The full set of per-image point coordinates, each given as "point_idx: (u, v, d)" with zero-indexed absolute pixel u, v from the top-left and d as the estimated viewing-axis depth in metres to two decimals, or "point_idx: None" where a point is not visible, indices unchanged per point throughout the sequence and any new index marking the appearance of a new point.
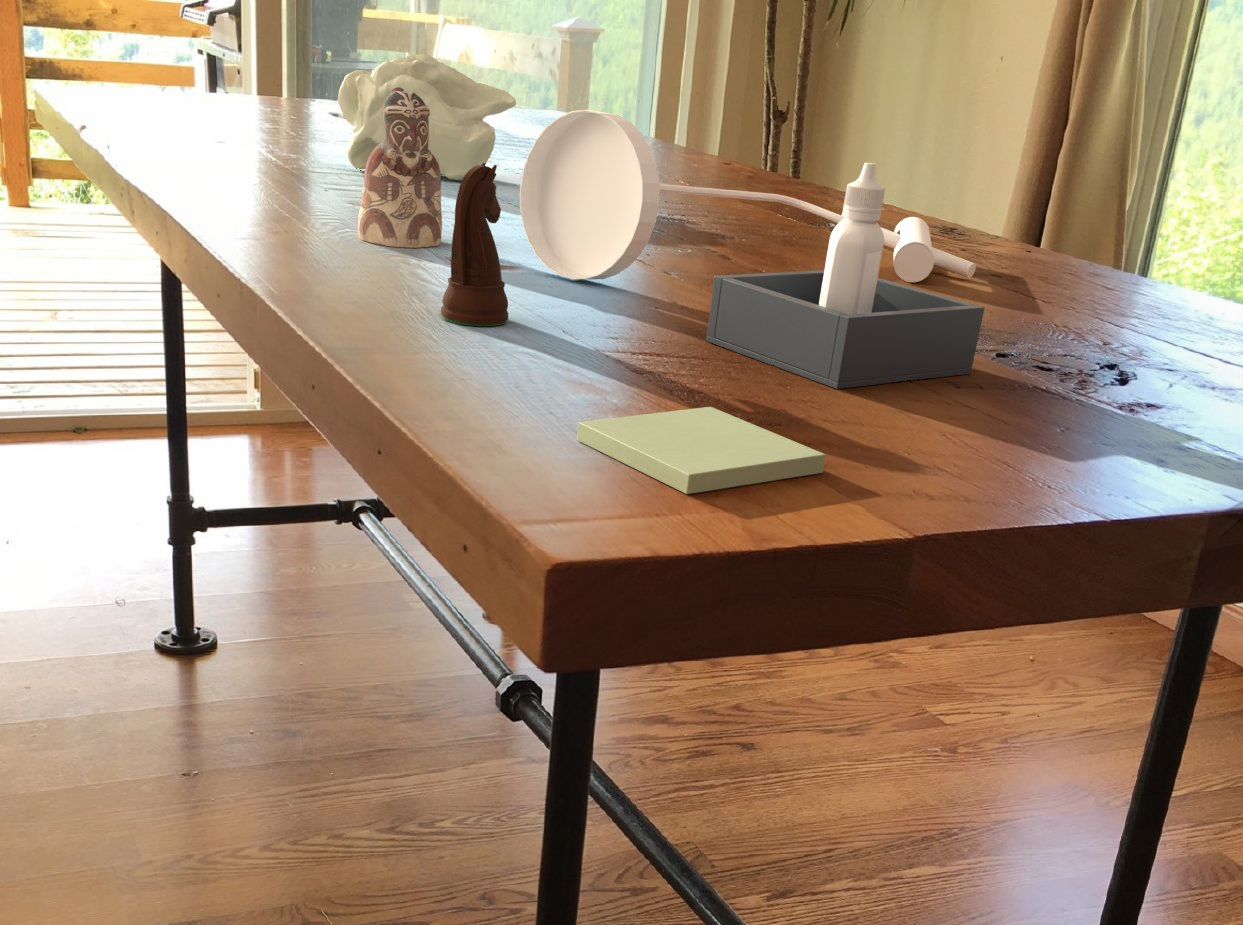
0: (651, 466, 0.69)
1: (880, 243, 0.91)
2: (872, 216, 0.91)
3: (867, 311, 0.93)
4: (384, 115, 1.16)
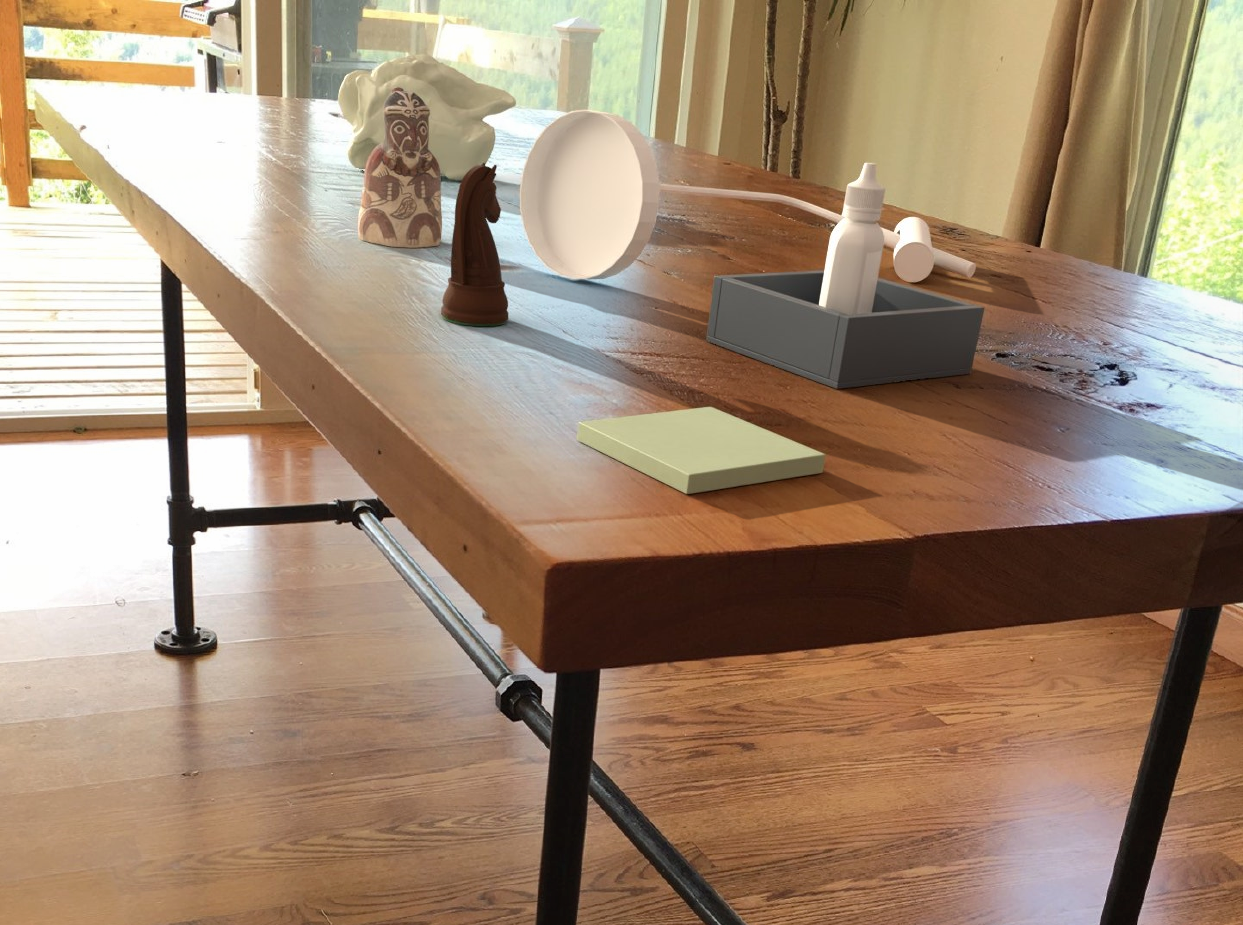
0: (651, 466, 0.69)
1: (880, 243, 0.91)
2: (872, 216, 0.91)
3: (867, 311, 0.93)
4: (384, 115, 1.16)
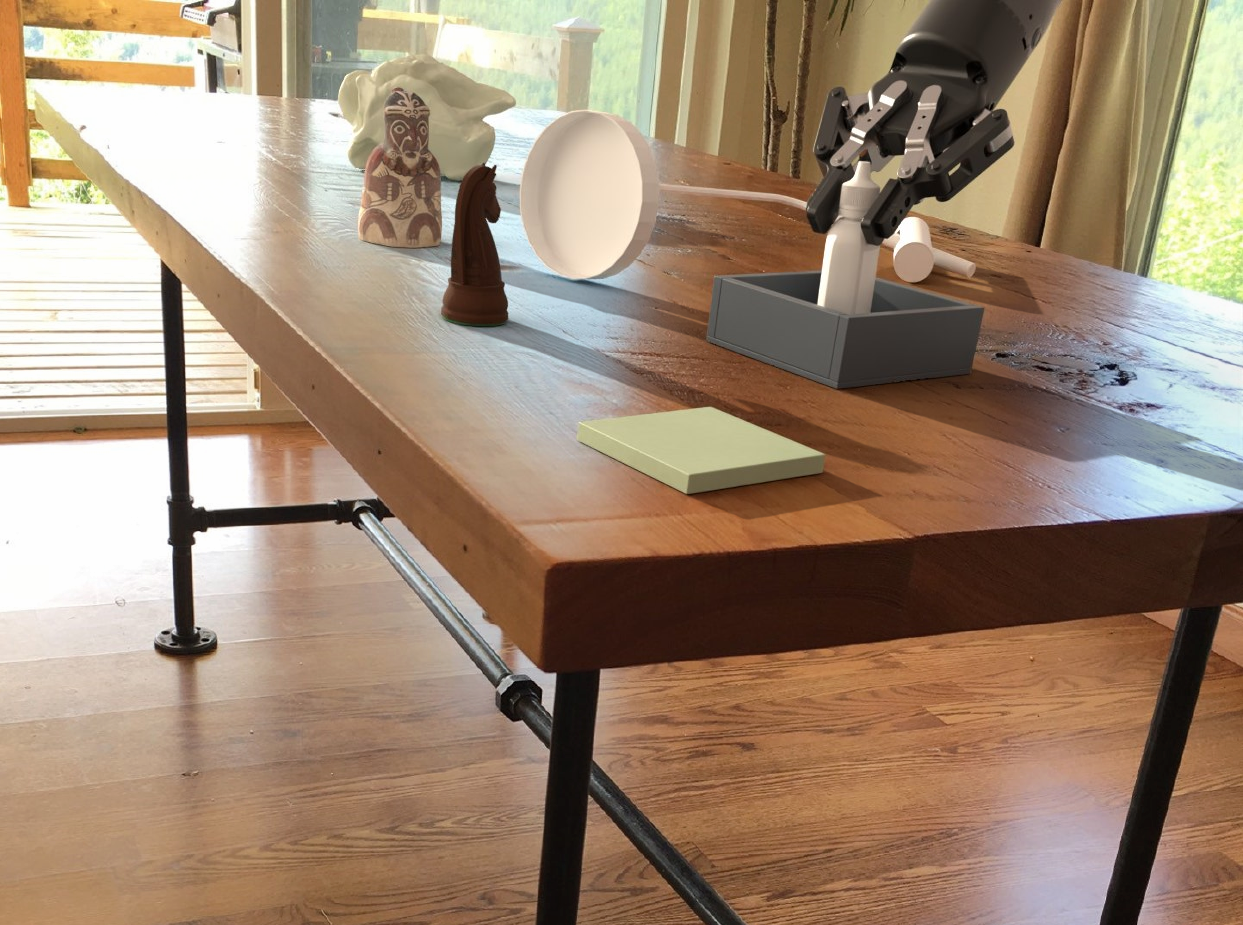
0: (651, 466, 0.69)
1: None
2: None
3: (866, 309, 0.93)
4: (384, 115, 1.16)
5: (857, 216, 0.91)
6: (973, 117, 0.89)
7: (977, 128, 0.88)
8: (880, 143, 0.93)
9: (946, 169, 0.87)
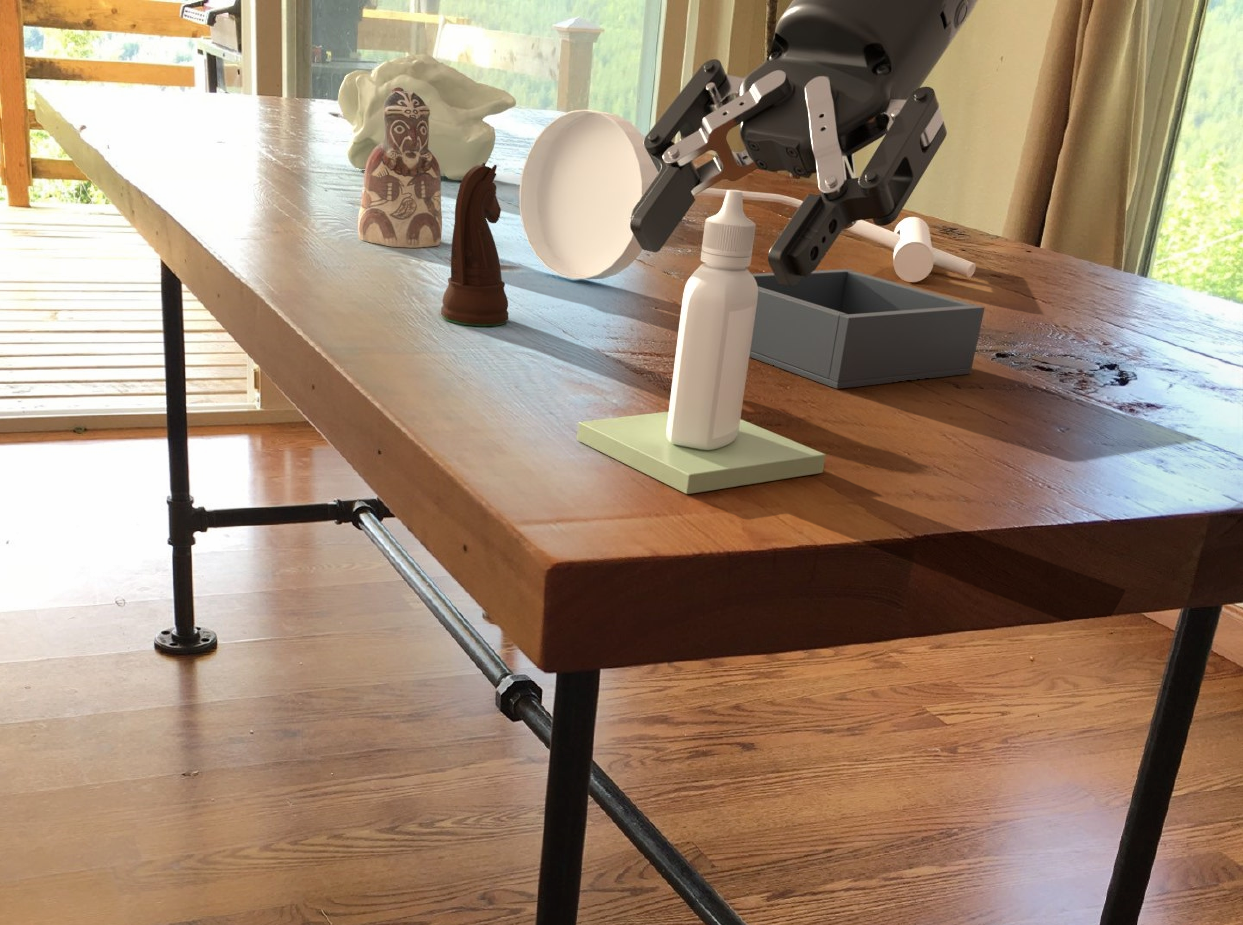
0: (651, 466, 0.69)
1: (750, 297, 0.68)
2: (738, 261, 0.68)
3: (735, 386, 0.70)
4: (384, 115, 1.16)
5: (723, 263, 0.67)
6: (882, 113, 0.66)
7: (902, 118, 0.64)
8: (753, 154, 0.69)
9: (887, 176, 0.63)
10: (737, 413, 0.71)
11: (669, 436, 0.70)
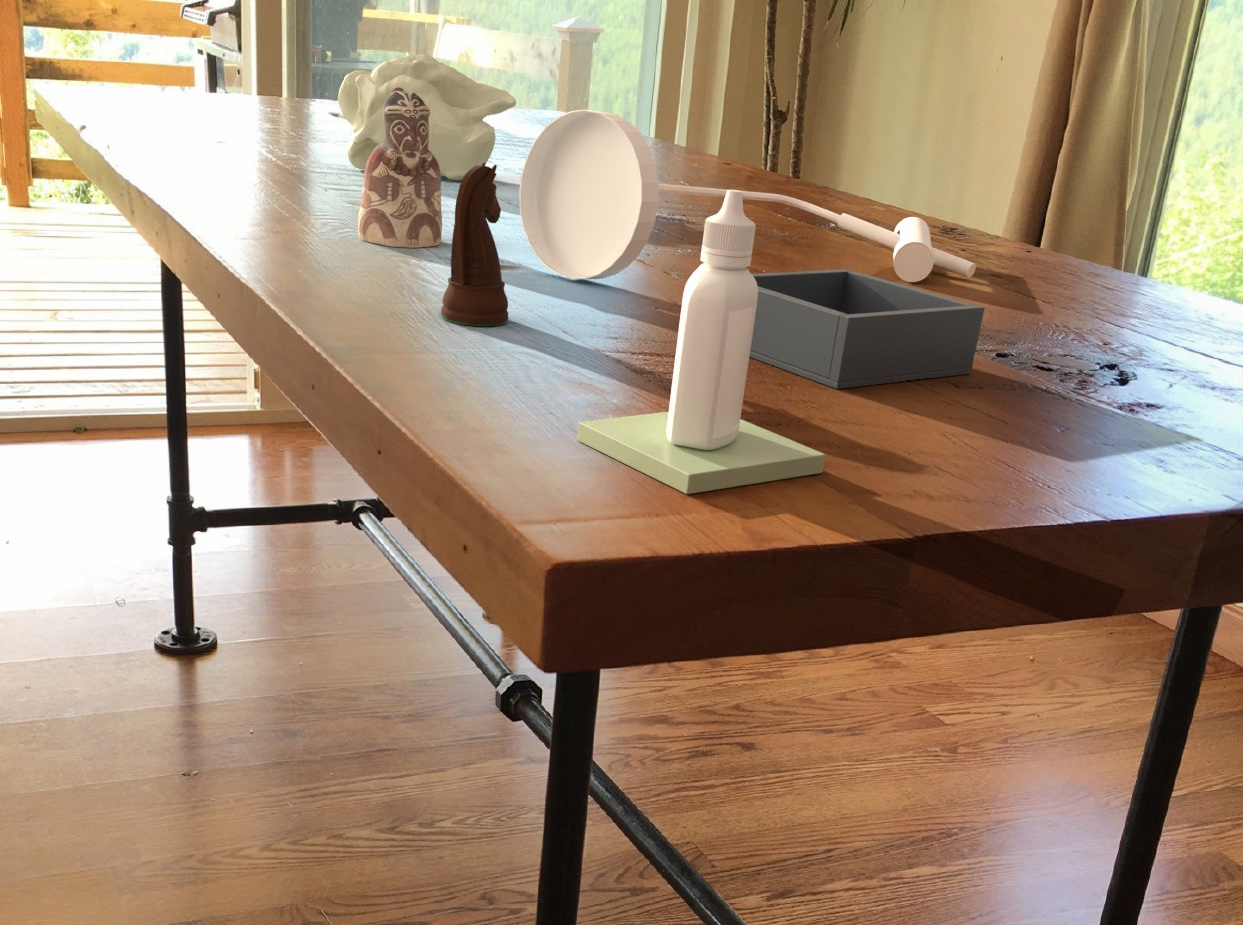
0: (651, 466, 0.69)
1: (750, 297, 0.68)
2: (738, 261, 0.68)
3: (735, 386, 0.70)
4: (384, 115, 1.16)
5: (723, 263, 0.67)
6: None
7: None
8: None
9: None
10: (737, 413, 0.71)
11: (669, 436, 0.70)
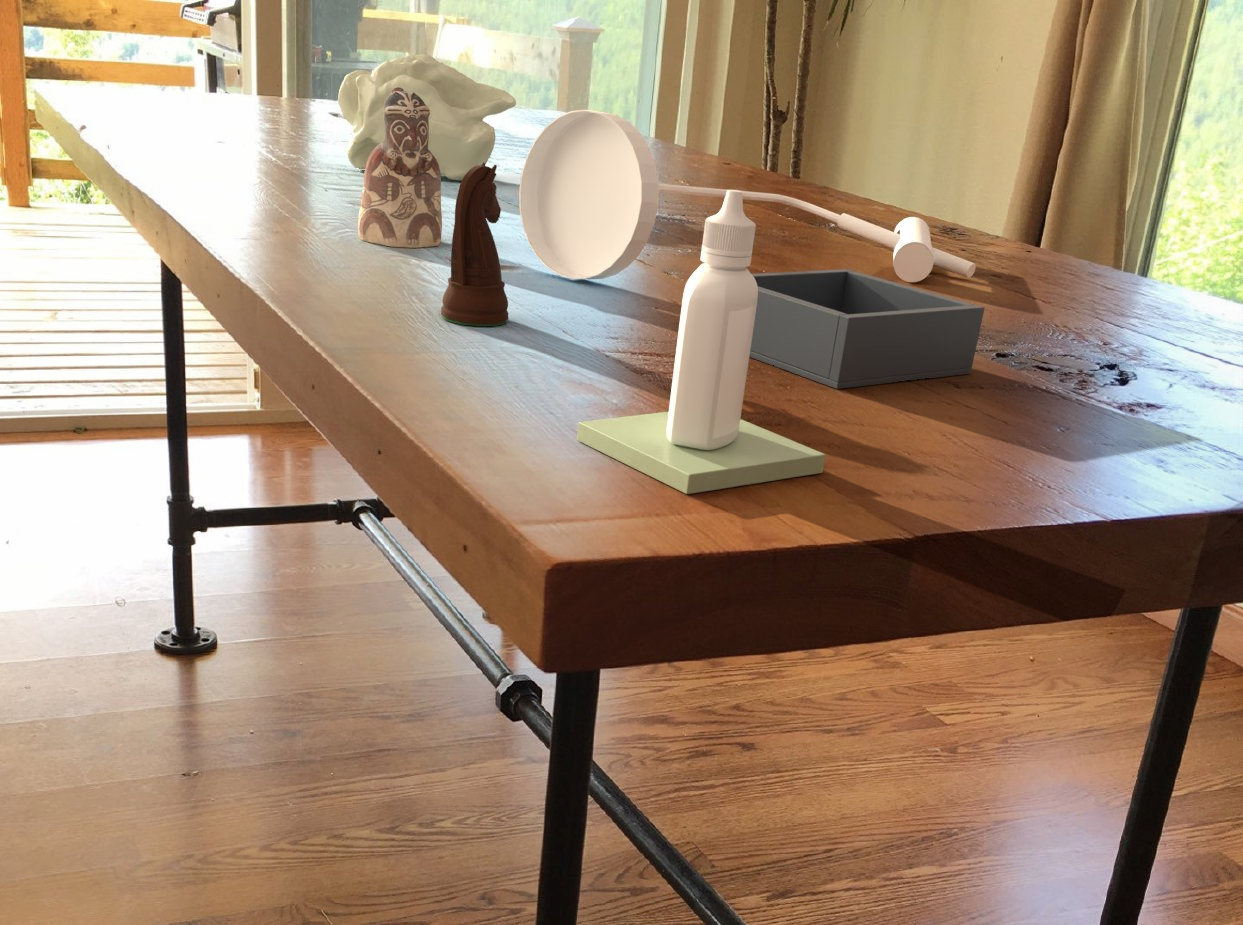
0: (651, 466, 0.69)
1: (750, 297, 0.68)
2: (738, 261, 0.68)
3: (735, 386, 0.70)
4: (384, 115, 1.16)
5: (723, 263, 0.67)
6: None
7: None
8: None
9: None
10: (737, 413, 0.71)
11: (669, 436, 0.70)
